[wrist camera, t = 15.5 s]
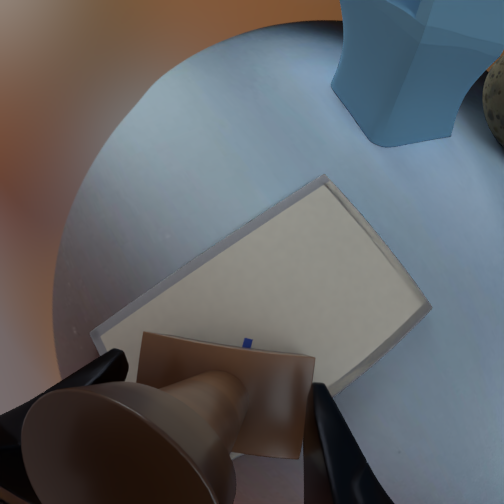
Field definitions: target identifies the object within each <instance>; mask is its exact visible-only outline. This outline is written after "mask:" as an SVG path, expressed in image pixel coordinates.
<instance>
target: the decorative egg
mask: <svg viewBox="0 0 504 504" xmlns="http://www.w3.org/2000/svg"><path fill="white" fill-rule="evenodd" d="M483 109H484V114H485V118H486V121H487V123H488V126H489V128H490V130H491V132H492V133H493V135H494V136H495V138H496V139H497V140H498V142H499V143H501V144H502V145H503V146H504V55H503V56H502V57H501V58H500V59H499V60H498V61H497V62H496V63H495V64H494V65H493V67H492V68H491V69H490V71H489V73H488V75H487V77H486V80H485V84H484V88H483Z"/></svg>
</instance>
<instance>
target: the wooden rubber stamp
mask: <svg viewBox="0 0 504 504" xmlns="http://www.w3.org/2000/svg"><path fill="white" fill-rule="evenodd" d="M315 359H316V358H315V357H312V356H309V355H305V354H298V353H288V352H278V351H270V350H261V349H254V348H246V347H239V346H232V345H225V344H219V343H213V342H207V341H201V340H196V339H190V338H185V337H180V336H174V335H167V334H160V333H153V332H146V331H143V335H142V342H141V348H140V355H139V363H138V371H137V379H136V383H135V382H125V381H120V382H108V383H102V384H95V385H88V386H80V387H72V388H64V389H57V390H54V391H51V392H49V393H47V394H45V395H43V396H42V397H40V398H39V399H38V400H37V401H36V402H35V403H34V404H33V405H32V406H31V408H30V409H29V411H28V412H27V415H26V417H25V419H24V422H23V427H22V433H21V451H22V457H23V462H24V466H25V469H26V472H27V475H28V478H29V480H30V483H31V485H32V487H33V489H34V491H35V493H36V495H37V496H38V498H39V500H40V501H41V503H42V504H233V502H234V498H235V495H236V474H235V470H234V466H233V462H232V460H231V458H230V453H231V452H235V453H241V454H248V455H256V456H264V457H274V458H285V459H299V457H300V452H301V447H302V442H303V435H304V425H305V414H306V403H307V396H308V393H309V390H310V387H311V384H312V381H313V374H314V367H315Z"/></svg>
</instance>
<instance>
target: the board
mask: <svg viewBox="0 0 504 504" xmlns="http://www.w3.org/2000/svg"><path fill="white" fill-rule="evenodd" d="M431 309H432V306H431V304H430V303H429V301H428V300H427V298H426V297H425V296H424V294H423V293H422V291H421V290H420V288H419V287H418V286H417V284H416V283H415V281H414V280H413V279H412V277H411V276H410V275H409V273H408V272H407V271H406V269H405V268H404V267H403V265H402V264H401V263H400V261H399V260H398V259H397V257H396V256H395V255H394V254H393V252H392V251H391V250H390V248H389V247H388V246H387V245H386V243H385V242H384V241H383V240H382V238H381V237H380V236H379V235H378V233H377V232H376V231H375V230H374V229H373V227H372V226H371V225H370V224H369V223H368V221H367V220H366V219H365V218H364V217H363V216H362V214H361V213H360V212H359V211H358V210H357V209H356V207H355V206H354V205H353V204H352V203H351V202H350V201H349V200H348V198H347V197H346V196H345V195H344V194H343V193H342V192H341V191H340V190H339V188H338V187H337V186H336V185H335V184H334V183H333V182H332V181H331V180H330V179H329V178H328V177H327V176H326V175H325V174H323V175H321V176H320V177H318V178H317V179H315V180H313V181H312V182H310V183H309V184H307V185H306V186H304V187H302V188H301V189H299V190H298V191H296V192H295V193H293V194H291V195H290V196H288V197H287V198H285V199H284V200H282V201H281V202H279V203H277V204H276V205H274V206H273V207H271V208H270V209H268V210H267V211H265V212H264V213H262V214H261V215H259V216H257V217H256V218H254V219H253V220H251V221H250V222H248V223H247V224H245V225H244V226H242V227H241V228H239V229H238V230H236V231H235V232H233V233H232V234H230V235H229V236H227V237H226V238H224V239H223V240H221V241H220V242H218V243H217V244H215V245H214V246H212V247H211V248H209V249H208V250H206V251H205V252H203V253H202V254H200V255H199V256H198V257H196V258H195V259H193V260H192V261H190V262H189V263H187V264H186V265H184V266H183V267H181V268H180V269H179V270H177V271H176V272H174V273H173V274H171V275H170V276H168V277H167V278H165V279H164V280H163V281H161V282H160V283H158V284H157V285H155V286H154V287H153V288H151V289H150V290H148V291H147V292H145V293H144V294H143V295H141V296H140V297H138V298H137V299H135V300H134V301H133V302H131V303H130V304H128V305H127V306H126V307H124V308H123V309H121V310H120V311H119V312H117V313H116V314H114V315H113V316H112V317H110V318H109V319H107V320H106V321H105V322H103V323H102V324H101V325H99V326H98V327H96V328H95V329H94V330H92V331H91V332H90V336H91V338H92V340H93V342H94V344H95V346H96V348H97V351H98V353H99V355H100V356H101V355H103V354H104V353H106V352H108V351H109V350H111V349H113V348H116V349H120V350H123V351H124V353H125V355H126V358H127V361H128V364H129V370H128V374H127V377H126V380H125V382H135V383H136V379H137V371H138V363H139V355H140V348H141V342H142V335H143V331H146V332H153V333H160V334H167V335H174V336H180V337H185V338H190V339H196V340H201V341H207V342H213V343H219V344H225V345H232V346H239V347H246V348H254V349H261V350H270V351H278V352H288V353H298V354H305V355H309V356H312V357H315V358H316V359H315V367H314V374H313V381H312V383H313V382H321V383H324V384H325V385H326V387H327V389H328V390H329V392H330V394H331V396H332V398H333V397H334V396H336V395H337V394H338V393H340V392H341V391H342V390H344V389H345V388H346V387H347V386H349V385H350V384H351V383H352V382H354V381H355V380H356V379H357V378H359V377H360V376H361V375H362V374H364V373H365V372H366V371H367V370H368V369H369V368H371V367H372V366H373V365H374V364H375V363H376V362H378V361H379V360H380V359H381V358H382V357H383V356H384V355H386V354H387V353H388V352H389V351H390V350H391V349H392V348H393V347H394V346H395V345H396V344H397V343H399V342H400V341H401V340H402V339H403V338H404V337H405V336H406V335H407V334H408V333H409V332H410V331H411V330H412V329H413V328H414V327H415V326H416V325H417V324H418V323H419V322H420V321H421V320H422V319H423V318H424V317H425V316H426V315H427V314H428V313H429V311H430V310H431ZM241 455H243V454H241V453H235V452H231V453H230V458H231V460H233V459H235V458H237V457H239V456H241Z"/></svg>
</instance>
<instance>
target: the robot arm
mask: <svg viewBox="0 0 504 504" xmlns="http://www.w3.org/2000/svg"><path fill="white" fill-rule="evenodd" d="M128 370H129V364H128V361H127V358H126V355H125V353H124V351H123V350H120V349H116V348H113V349H111V350H109V351H108V352H106V353H104V354H103V355H101V356H100V357H98V358H97V359H95V360H93V361H92V362H90V363H89V364H87V365H86V366H84V367H82V368H81V369H79V370H78V371H76V372H75V373H73V374H71V375H70V376H68V377H67V378H65V379H64V380H62V381H60V382H59V383H57V384H56V385H54V386H52V387H51V388H49V389H48V390H46V391H45V392H44V393H41V394H40V395H38V396H37V397H35V398H33V399H31V400H30V401H28V402H26V403H24V404H23V405H21V406H19V407H16V408H15V409H12V410H10V411H8V412H6V413H4V414H2V415H0V504H42V503H41V501H40V500H39V498H38V496H37V495H36V493H35V491H34V489H33V487H32V485H31V483H30V480H29V478H28V475H27V472H26V469H25V466H24V462H23V457H22V451H21V433H22V427H23V422H24V419H25V417H26V415H27V412H28V411H29V409H30V408H31V406H32V405H33V404H34V403H35V402H36V401H37V400H38V399H39V398H40V397H42V396H43V395H45V394H47V393H49V392H51V391H54V390H57V389H64V388H72V387H80V386H88V385H95V384H102V383H108V382H120V381H125V380H126V377H127V374H128ZM303 456H304V504H394V503H393V501H392V500H391V499H390V497H389V496H388V495H387V493H386V492H385V490H384V489H383V488H382V486H381V485H380V483H379V482H378V480H377V478H376V477H375V475H374V473H373V472H372V470H371V468H370V466H369V464H368V463H366V462H367V461H366V459H365V457H364V455H363V453H362V451H361V450H360V448H359V446H358V444H357V442H356V440H355V438H354V437H353V435H352V433H351V431H350V429H349V427H348V425H347V424H346V422H345V420H344V418H343V416H342V414H341V413H340V411H339V409H338V407H337V405H336V403H335V401H334V400H333V398H332V396H331V394H330V392H329V390H328V389H327V387H326V385H325V384H324V383H321V382H313V383H312V384H311V387H310V390H309V393H308V396H307V403H306V414H305V425H304V435H303Z"/></svg>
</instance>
